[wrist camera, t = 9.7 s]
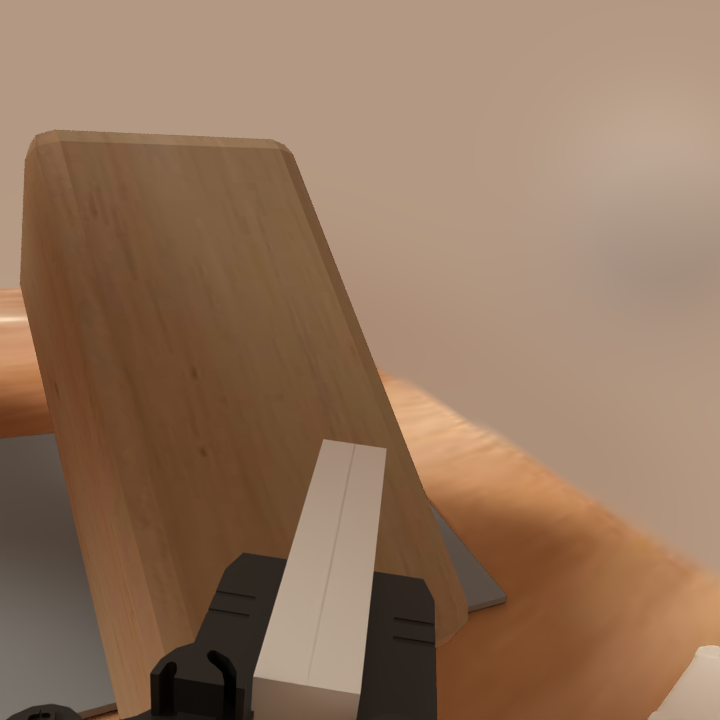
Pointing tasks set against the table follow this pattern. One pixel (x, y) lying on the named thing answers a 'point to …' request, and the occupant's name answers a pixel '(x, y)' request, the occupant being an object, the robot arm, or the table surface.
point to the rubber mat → (84, 588)
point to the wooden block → (199, 378)
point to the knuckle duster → (695, 690)
